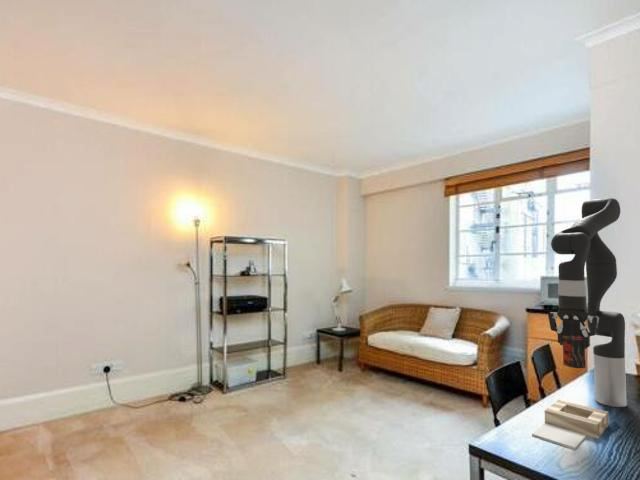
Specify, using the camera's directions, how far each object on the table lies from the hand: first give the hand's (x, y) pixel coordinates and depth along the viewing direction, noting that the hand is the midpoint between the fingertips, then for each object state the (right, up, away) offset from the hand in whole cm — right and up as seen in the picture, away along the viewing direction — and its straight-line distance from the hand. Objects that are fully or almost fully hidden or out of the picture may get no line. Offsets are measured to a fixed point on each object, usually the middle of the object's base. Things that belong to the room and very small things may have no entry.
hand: (573, 346), depth 121 cm
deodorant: (0, -6, 0) cm, 6 cm away
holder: (+1, -25, -1) cm, 25 cm away
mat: (-11, -24, -9) cm, 28 cm away
